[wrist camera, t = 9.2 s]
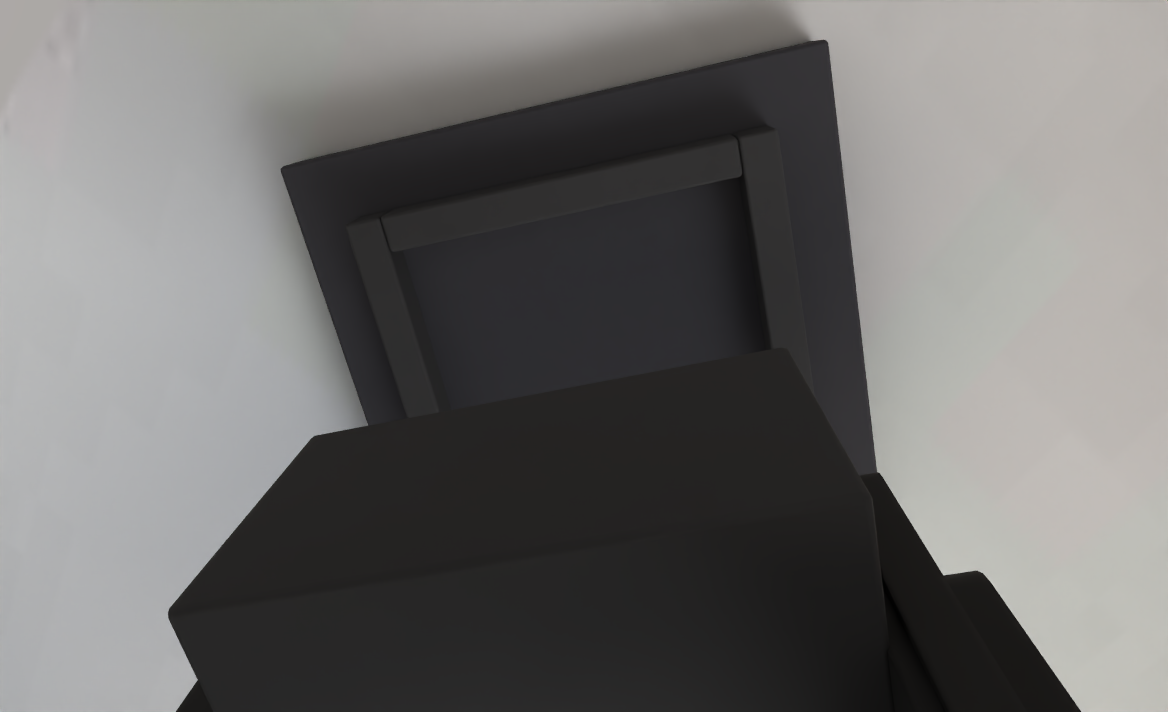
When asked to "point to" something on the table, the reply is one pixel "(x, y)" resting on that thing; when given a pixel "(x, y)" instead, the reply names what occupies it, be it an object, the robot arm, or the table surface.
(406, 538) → the small pad
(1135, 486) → the table surface
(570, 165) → the base pad
